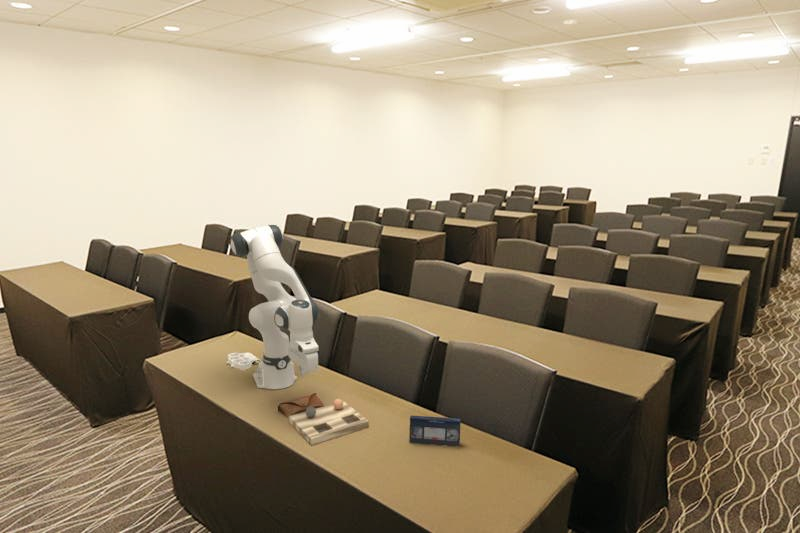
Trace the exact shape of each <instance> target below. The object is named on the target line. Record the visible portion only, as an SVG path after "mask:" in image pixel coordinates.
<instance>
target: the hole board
mask: <svg viewBox="0 0 800 533" xmlns="http://www.w3.org/2000/svg"><path fill="white" fill-rule="evenodd" d="M342 401H343V407H342V408H341V409H336V408H334V406H333V403H331V404H327V405H325V406H323V407H319V408H316V414H315V416H313V417H308V416H307V415H306V411H305V412H302V413H298V414H295V415H291V416H289V418H288V422H289V424H290V425H291V426H292V427H293V428H294V429H295V430H296V431H297V433H299V434H300V435H301V436H302V437H303V439H304V440H306V442H307V443H309V445H310V446H314V445H317V444H320V443H323V442H326V441H329V440H332V439H335V438H338V437H342V436H344V435H348V434H351V433H354V432H357V431H360V430H363V429H366V428H369V423H370V421H369V420H368V419H367V418H366V417H364V416H363V415H362V414H361V413H359V412H358V411H357V410H356V409H354V408H353V407H352V406H350V405H349V404H348V403H347V402H346V401H345V400H342Z"/></svg>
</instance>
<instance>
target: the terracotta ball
mask: <svg viewBox="0 0 800 533" xmlns="http://www.w3.org/2000/svg"><path fill="white" fill-rule="evenodd" d="M343 401H344V400H342V399H340V398H336V399H335V400H334V401H333V403H332V404H333V406H334V408H336V409H341V408H342V407H343Z"/></svg>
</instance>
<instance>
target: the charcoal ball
mask: <svg viewBox="0 0 800 533" xmlns="http://www.w3.org/2000/svg"><path fill="white" fill-rule="evenodd" d="M315 414H316V409H315V408H314V407H308V408H307V409H306V415H307V416H308V417H313V416H315Z"/></svg>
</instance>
